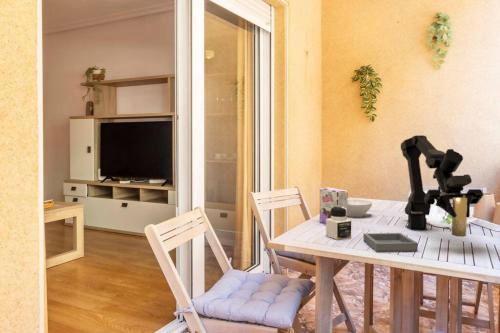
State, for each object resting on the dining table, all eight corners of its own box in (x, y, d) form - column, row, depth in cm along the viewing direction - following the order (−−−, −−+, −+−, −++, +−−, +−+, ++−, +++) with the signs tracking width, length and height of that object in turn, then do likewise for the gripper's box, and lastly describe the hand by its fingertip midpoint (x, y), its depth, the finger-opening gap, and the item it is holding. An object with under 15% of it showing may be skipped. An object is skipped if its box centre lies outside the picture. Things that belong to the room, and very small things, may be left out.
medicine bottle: (337, 240, 151) (337, 209, 150) (325, 236, 157) (325, 206, 156) (351, 237, 154) (351, 207, 153) (339, 234, 160) (339, 205, 160)
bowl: (376, 218, 189) (376, 204, 188) (343, 219, 189) (343, 204, 189) (367, 212, 205) (367, 199, 204) (336, 212, 205) (336, 199, 205)
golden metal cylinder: (455, 236, 132) (456, 198, 131) (449, 233, 136) (450, 196, 135) (468, 236, 132) (470, 198, 131) (461, 233, 136) (462, 196, 135)
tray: (376, 252, 135) (376, 243, 134) (363, 241, 149) (363, 233, 149) (417, 251, 135) (417, 243, 135) (400, 240, 149) (400, 232, 149)
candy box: (319, 222, 183) (319, 187, 182) (329, 221, 185) (329, 186, 184) (336, 228, 170) (337, 191, 169) (347, 227, 173) (348, 190, 171)
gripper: (428, 166, 136) (442, 203, 126) (481, 166, 136) (500, 203, 126) (418, 186, 145) (430, 222, 135) (468, 185, 145) (484, 221, 135)
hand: (461, 216), depth 132 cm, fingers closed on golden metal cylinder, 4 cm apart
